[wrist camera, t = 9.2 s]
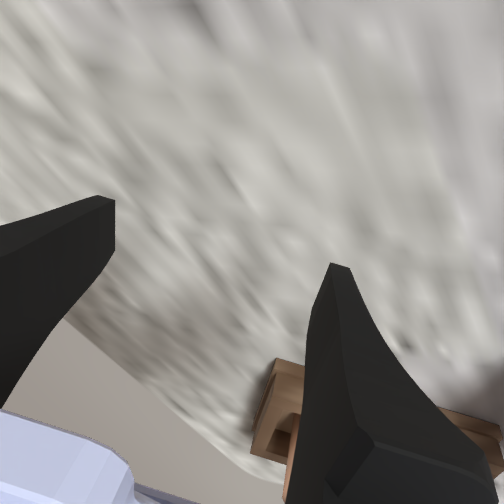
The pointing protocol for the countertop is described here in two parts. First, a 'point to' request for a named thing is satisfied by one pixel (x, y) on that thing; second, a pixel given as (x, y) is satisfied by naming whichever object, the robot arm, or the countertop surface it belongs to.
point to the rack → (290, 401)
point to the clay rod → (291, 452)
